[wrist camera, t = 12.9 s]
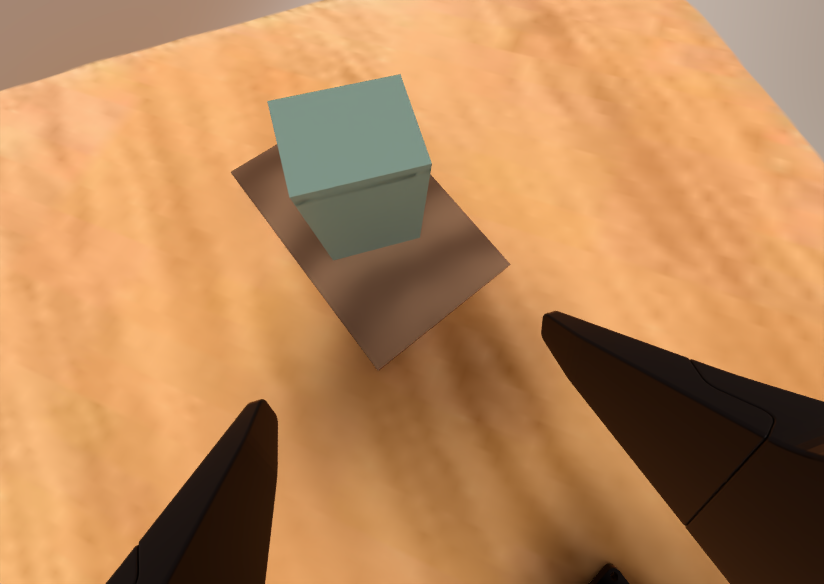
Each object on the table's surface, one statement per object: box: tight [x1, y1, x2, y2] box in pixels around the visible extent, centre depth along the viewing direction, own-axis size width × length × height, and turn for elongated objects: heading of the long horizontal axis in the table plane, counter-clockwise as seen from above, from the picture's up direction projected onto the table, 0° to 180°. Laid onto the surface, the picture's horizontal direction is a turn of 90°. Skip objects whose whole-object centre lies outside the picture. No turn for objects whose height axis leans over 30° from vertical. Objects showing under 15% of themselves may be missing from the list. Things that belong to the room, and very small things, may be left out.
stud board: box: [231, 145, 510, 370], centre depth 22 cm, size 20×13×5 cm, turn 38°
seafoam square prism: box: [268, 74, 432, 260], centre depth 19 cm, size 6×7×9 cm
